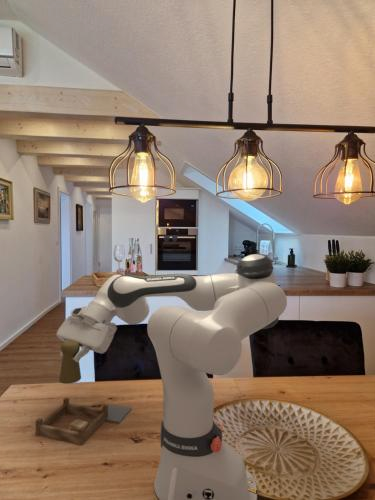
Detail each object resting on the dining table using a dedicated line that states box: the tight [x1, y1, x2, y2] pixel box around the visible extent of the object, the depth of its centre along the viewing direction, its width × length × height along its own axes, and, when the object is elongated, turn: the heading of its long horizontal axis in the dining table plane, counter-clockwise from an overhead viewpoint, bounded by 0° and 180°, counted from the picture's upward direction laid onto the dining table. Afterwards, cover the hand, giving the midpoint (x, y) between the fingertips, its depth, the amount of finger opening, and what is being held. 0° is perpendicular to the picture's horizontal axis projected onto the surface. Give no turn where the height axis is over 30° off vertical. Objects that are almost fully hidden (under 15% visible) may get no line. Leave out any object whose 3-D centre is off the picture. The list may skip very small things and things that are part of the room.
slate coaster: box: [94, 403, 132, 425], centre depth 100 cm, size 8×8×1 cm
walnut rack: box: [35, 397, 108, 446], centre depth 94 cm, size 15×13×4 cm
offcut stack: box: [68, 419, 89, 432], centre depth 89 cm, size 5×4×4 cm
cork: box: [58, 341, 82, 385], centre depth 95 cm, size 6×6×11 cm
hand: (68, 358), depth 94 cm, fingers closed on cork, 4 cm apart
